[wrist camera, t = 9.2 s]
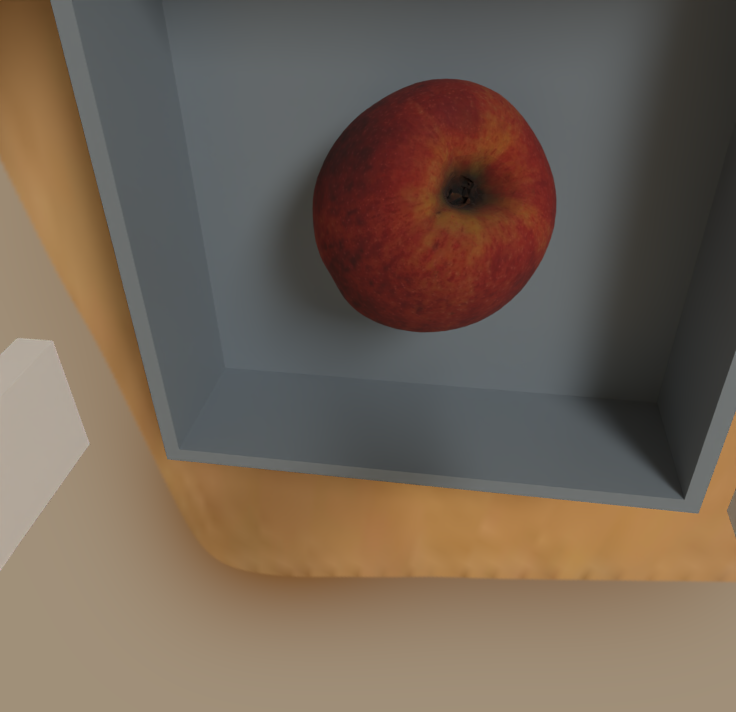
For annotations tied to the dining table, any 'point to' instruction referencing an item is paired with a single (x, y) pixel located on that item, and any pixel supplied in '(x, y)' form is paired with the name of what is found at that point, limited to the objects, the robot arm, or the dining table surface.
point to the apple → (434, 206)
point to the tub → (424, 349)
